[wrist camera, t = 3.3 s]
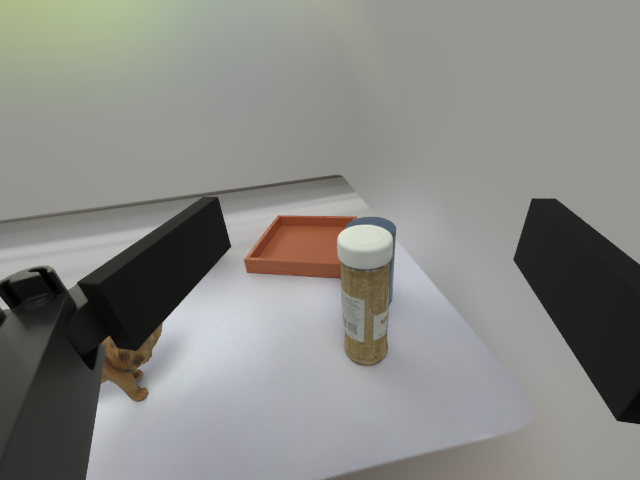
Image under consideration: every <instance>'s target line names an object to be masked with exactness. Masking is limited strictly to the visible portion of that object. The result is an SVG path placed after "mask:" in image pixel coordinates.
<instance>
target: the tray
mask: <svg viewBox="0 0 640 480" xmlns="http://www.w3.org/2000/svg"><path fill="white" fill-rule="evenodd" d="M355 219H357V217H342V216H277V217H276V219H275V220H274V221H273V222H272V224H271V225H270V226H269V228H268V229H267V230H266V232H265V233H264V234H263V235H262V237H261V238H260V239H259V241H258V242H257V243H256V245H255V246H254V247H253V248H252V250H251V251H250V252H249V254H248V255H247V256H246V257H245V259H244V261H245V265H246V269H247V272H249V273H265V274H281V275H297V276H313V277H328V278H341V267H340V261H339V258H338V251H337V238H338V235H339V234H340V233H341V232H342V231H343V230H345V228H346V225H347V224H348V223H349V222H351V221H352V220H355Z"/></svg>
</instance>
